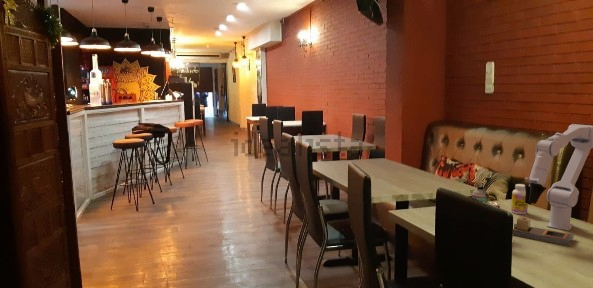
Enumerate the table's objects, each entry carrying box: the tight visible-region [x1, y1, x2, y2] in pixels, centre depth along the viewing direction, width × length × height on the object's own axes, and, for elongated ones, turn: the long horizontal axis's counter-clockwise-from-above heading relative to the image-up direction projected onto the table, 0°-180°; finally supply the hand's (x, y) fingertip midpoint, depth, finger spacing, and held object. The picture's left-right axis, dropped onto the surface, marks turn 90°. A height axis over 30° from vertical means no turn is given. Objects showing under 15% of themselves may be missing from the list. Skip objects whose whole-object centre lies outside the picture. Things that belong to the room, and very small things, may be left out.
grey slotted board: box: [512, 223, 575, 247], centre depth 174 cm, size 9×22×2 cm, turn 51°
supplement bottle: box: [510, 183, 529, 215], centre depth 205 cm, size 7×7×13 cm
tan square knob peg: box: [516, 216, 532, 232], centre depth 177 cm, size 4×4×6 cm
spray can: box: [471, 184, 489, 203], centre depth 172 cm, size 6×6×20 cm
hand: (530, 203), depth 173 cm, fingers open, 7 cm apart
